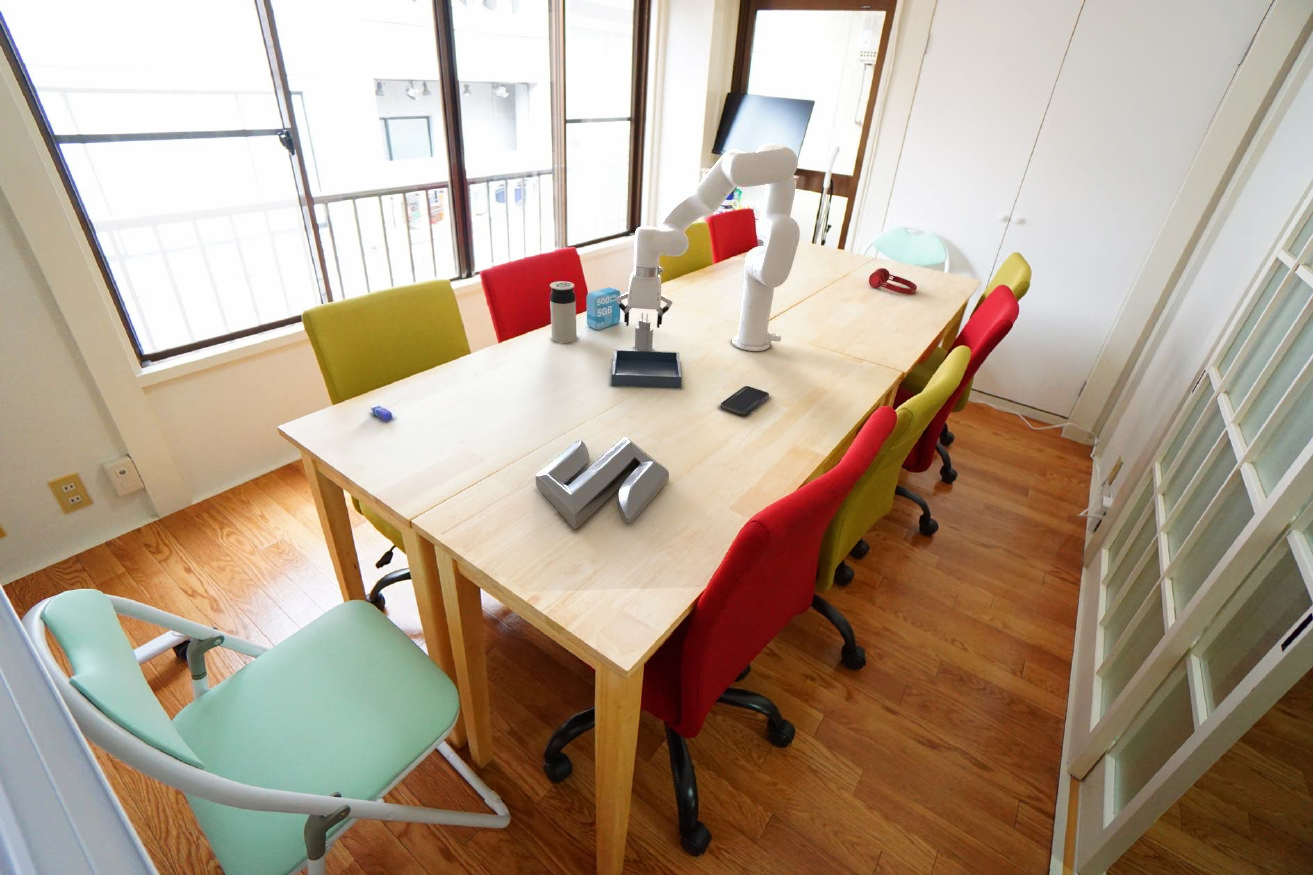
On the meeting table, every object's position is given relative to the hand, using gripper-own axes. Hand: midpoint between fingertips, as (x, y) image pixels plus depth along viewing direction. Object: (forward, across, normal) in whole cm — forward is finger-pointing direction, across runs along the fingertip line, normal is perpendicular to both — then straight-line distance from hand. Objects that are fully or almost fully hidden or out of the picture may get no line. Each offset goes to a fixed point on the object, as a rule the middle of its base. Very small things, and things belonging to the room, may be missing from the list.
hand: (642, 325), depth 181 cm
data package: (+8, +13, -20) cm, 26 cm away
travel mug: (+9, +25, -6) cm, 28 cm away
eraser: (+10, +63, +48) cm, 80 cm away
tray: (+8, -2, +18) cm, 20 cm away
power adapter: (+8, -1, 0) cm, 8 cm away
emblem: (+9, +7, +74) cm, 75 cm away
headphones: (+6, -111, -79) cm, 136 cm away
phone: (+8, -29, +34) cm, 45 cm away
